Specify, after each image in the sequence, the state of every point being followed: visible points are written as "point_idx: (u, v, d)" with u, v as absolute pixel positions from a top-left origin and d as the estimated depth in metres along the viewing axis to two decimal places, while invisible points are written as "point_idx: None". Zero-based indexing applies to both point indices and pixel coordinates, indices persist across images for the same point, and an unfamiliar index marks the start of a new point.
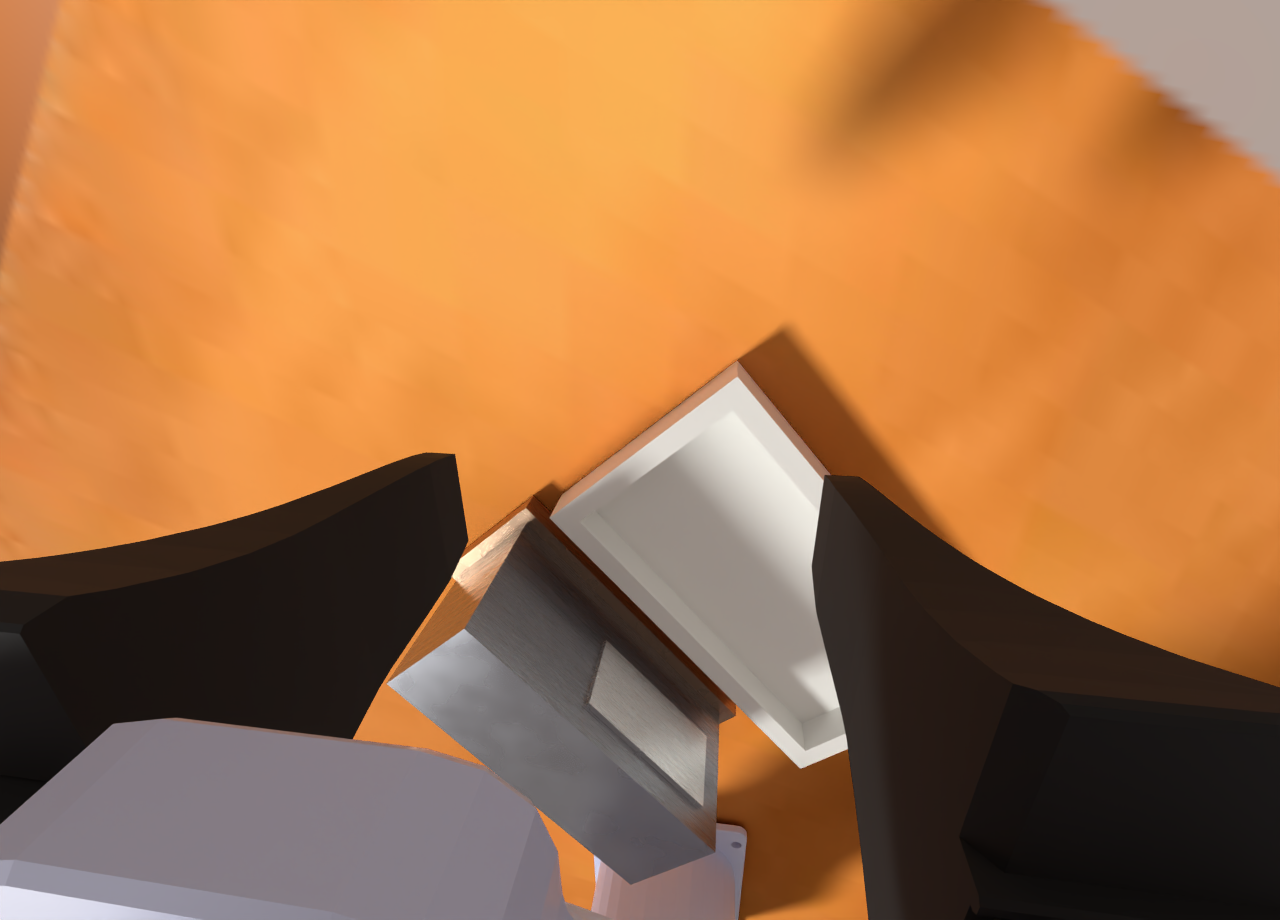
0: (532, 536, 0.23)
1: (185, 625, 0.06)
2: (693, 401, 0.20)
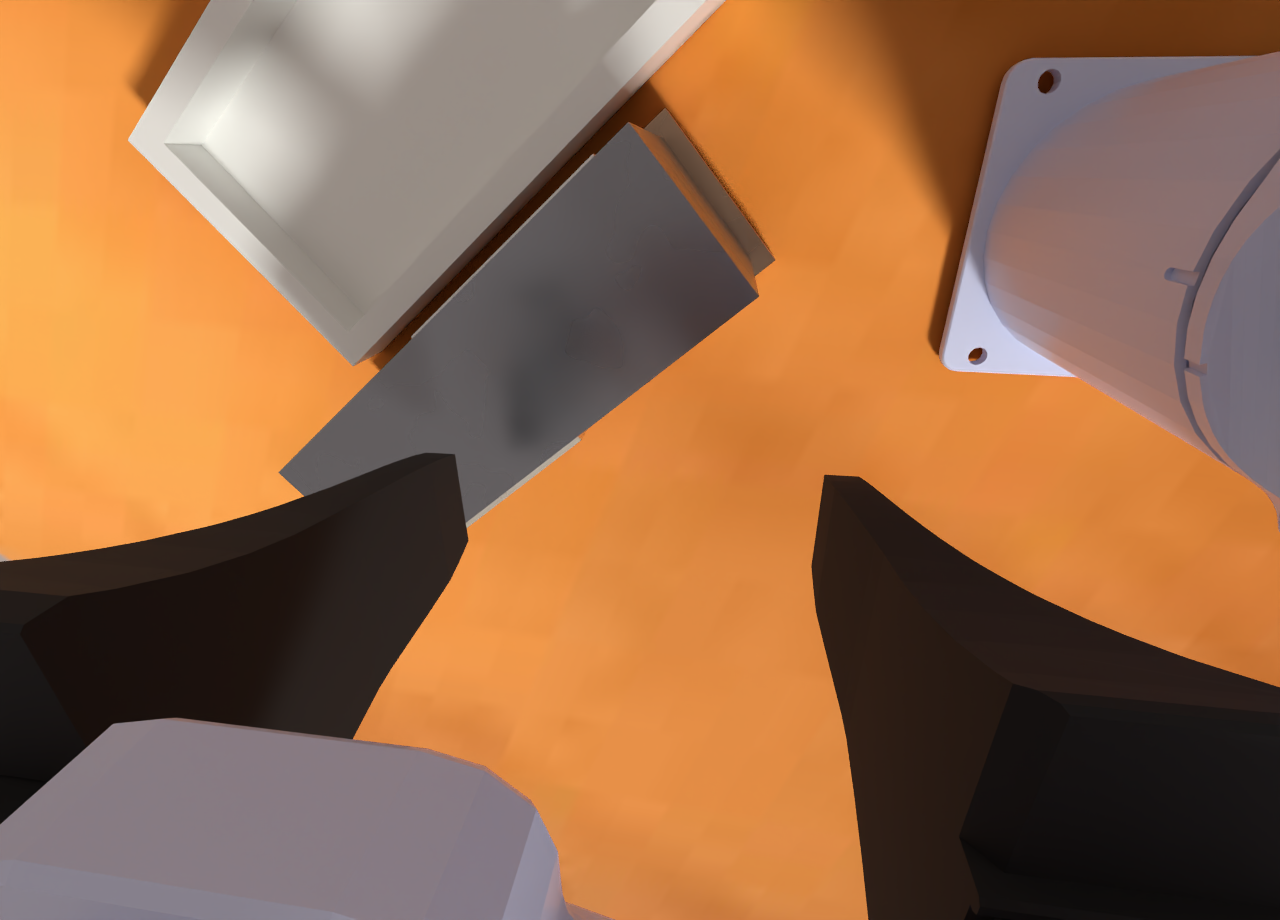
0: None
1: (185, 625, 0.06)
2: None
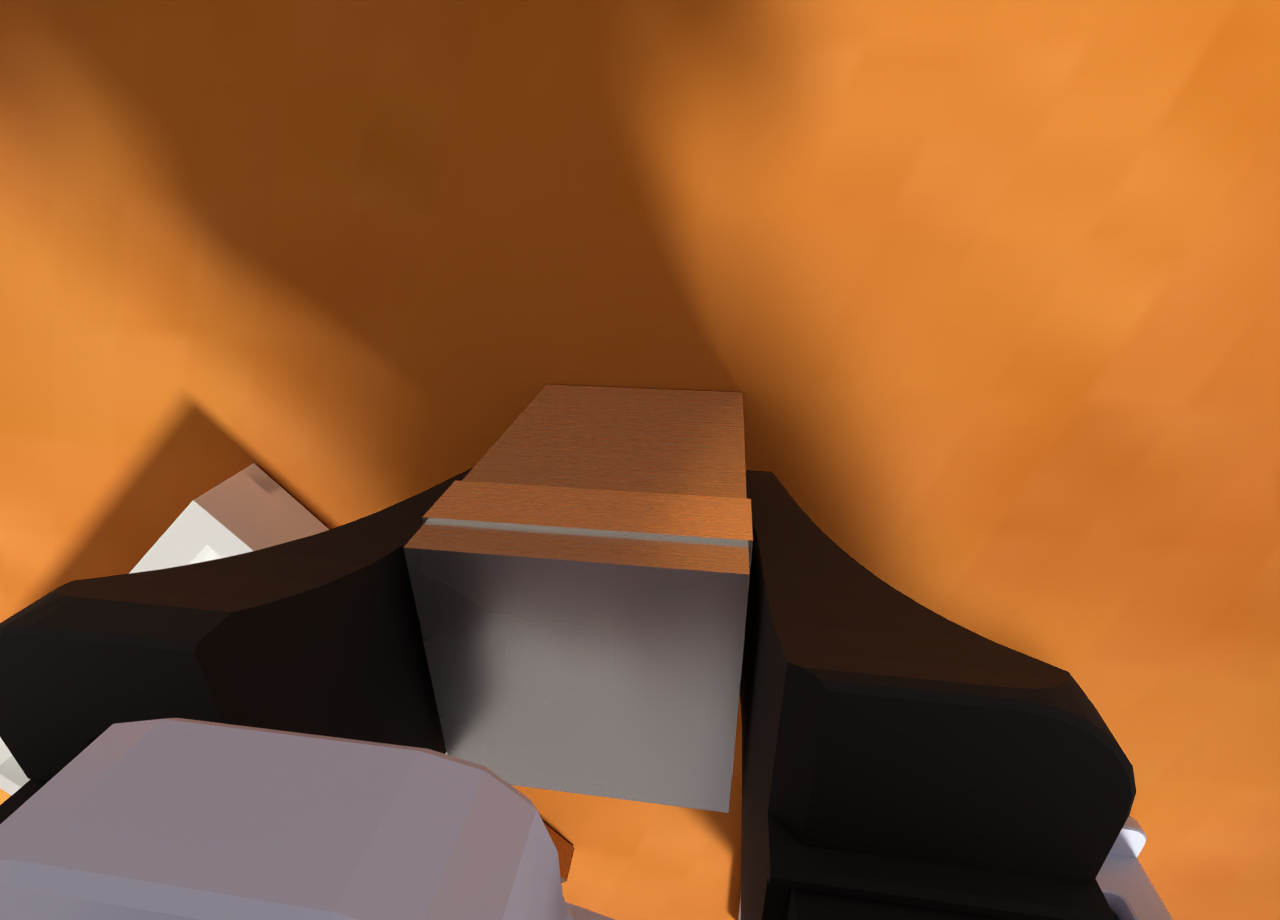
0: None
1: (322, 639, 0.06)
2: None
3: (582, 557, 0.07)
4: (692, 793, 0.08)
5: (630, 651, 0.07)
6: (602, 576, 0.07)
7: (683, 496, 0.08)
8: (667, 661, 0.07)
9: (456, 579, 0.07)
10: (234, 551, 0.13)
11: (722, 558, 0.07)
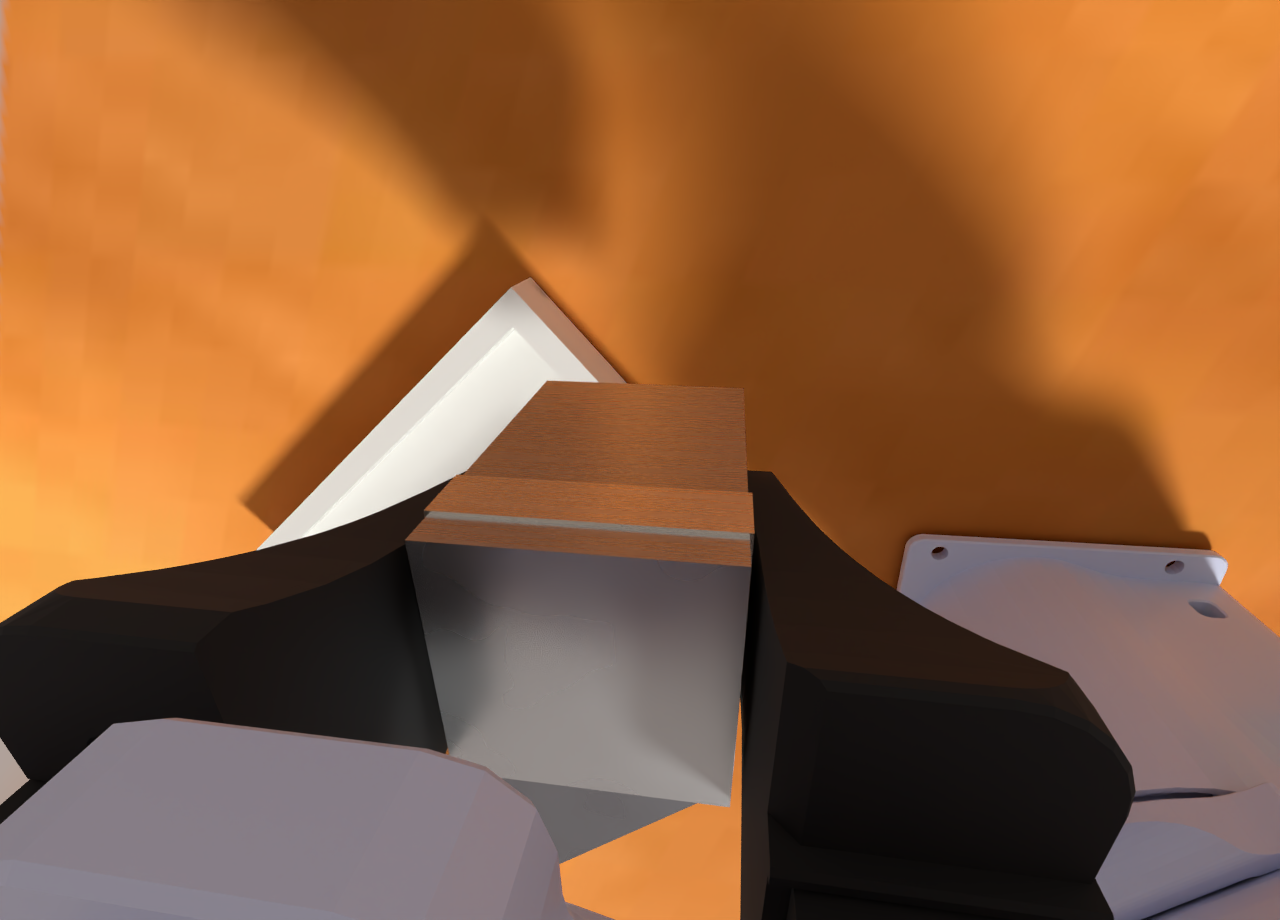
0: None
1: (322, 639, 0.06)
2: None
3: (585, 549, 0.07)
4: (693, 786, 0.08)
5: (632, 644, 0.07)
6: (603, 568, 0.07)
7: (685, 490, 0.08)
8: (669, 654, 0.07)
9: (458, 572, 0.07)
10: (534, 331, 0.17)
11: (724, 551, 0.07)
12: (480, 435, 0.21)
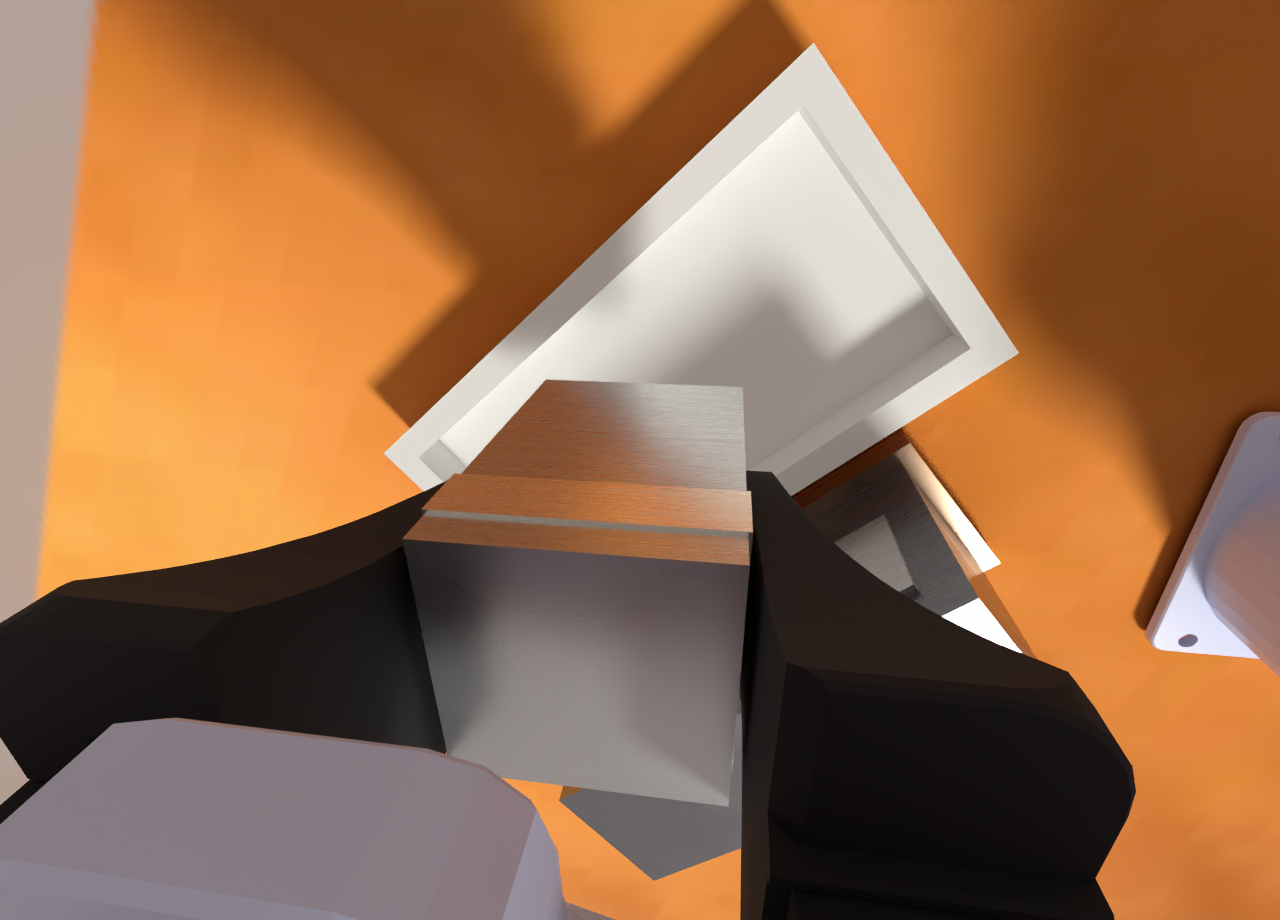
0: None
1: (322, 638, 0.06)
2: None
3: (582, 548, 0.07)
4: (692, 785, 0.08)
5: (630, 643, 0.07)
6: (602, 568, 0.07)
7: (683, 489, 0.08)
8: (667, 653, 0.07)
9: (455, 571, 0.07)
10: (831, 111, 0.13)
11: (722, 549, 0.07)
12: (702, 283, 0.16)
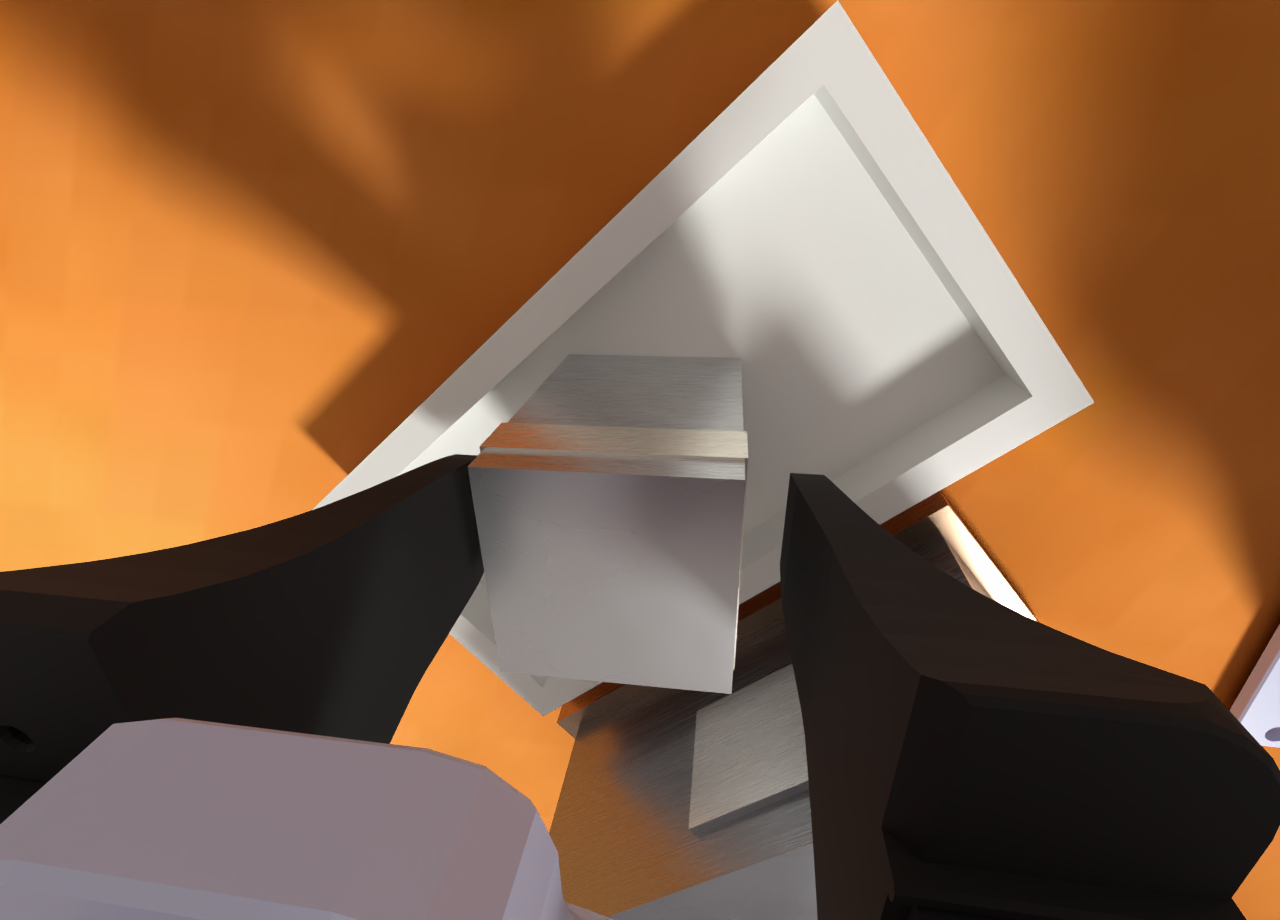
0: (587, 728, 0.18)
1: (239, 630, 0.06)
2: None
3: (612, 470, 0.09)
4: (701, 676, 0.10)
5: (650, 550, 0.09)
6: (628, 485, 0.09)
7: (692, 430, 0.10)
8: (680, 558, 0.09)
9: (510, 492, 0.09)
10: (860, 92, 0.10)
11: (723, 470, 0.09)
12: (693, 310, 0.13)
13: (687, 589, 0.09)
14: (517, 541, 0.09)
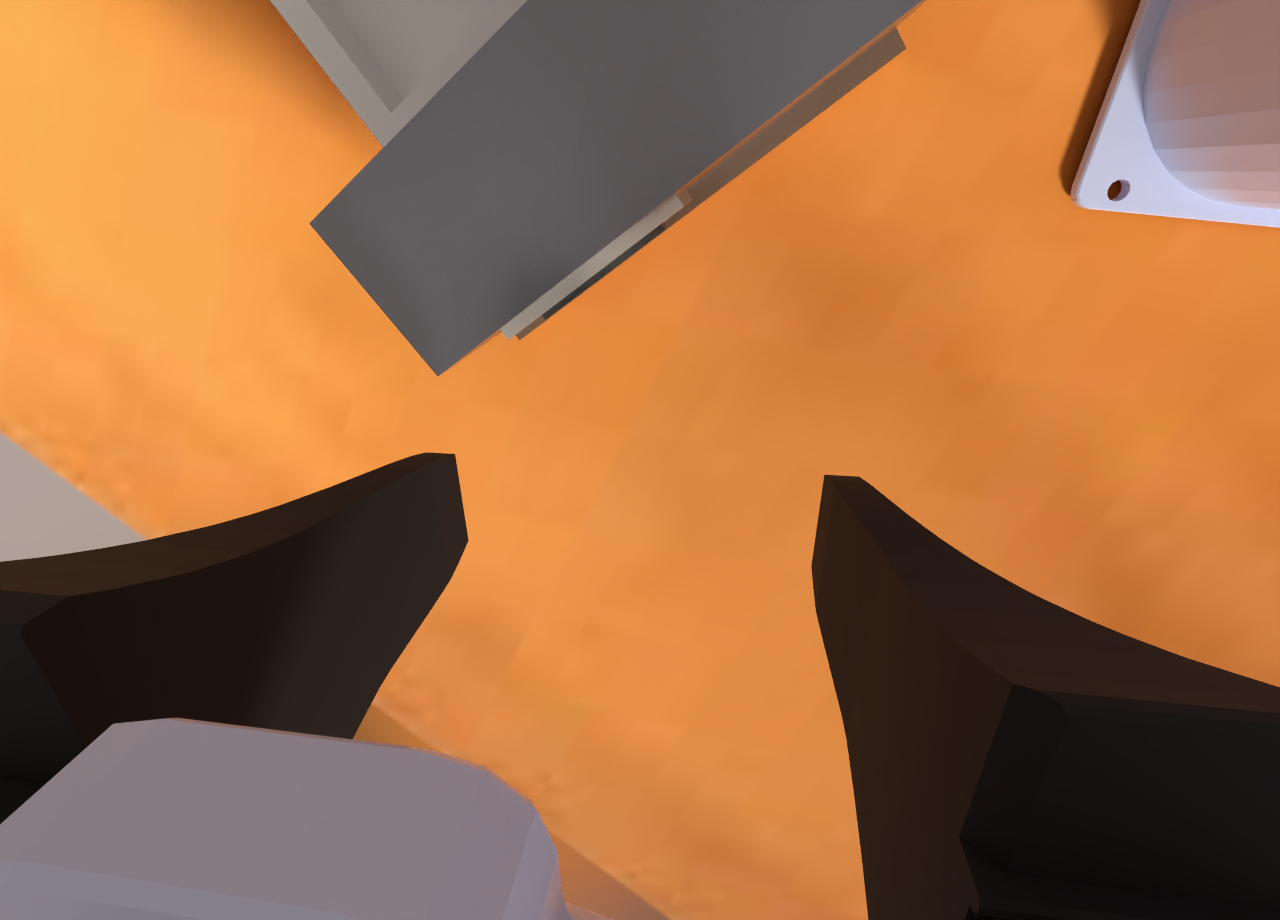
0: None
1: (185, 625, 0.06)
2: None
3: None
4: None
5: None
6: None
7: None
8: None
9: None
10: None
11: None
12: None
13: None
14: None
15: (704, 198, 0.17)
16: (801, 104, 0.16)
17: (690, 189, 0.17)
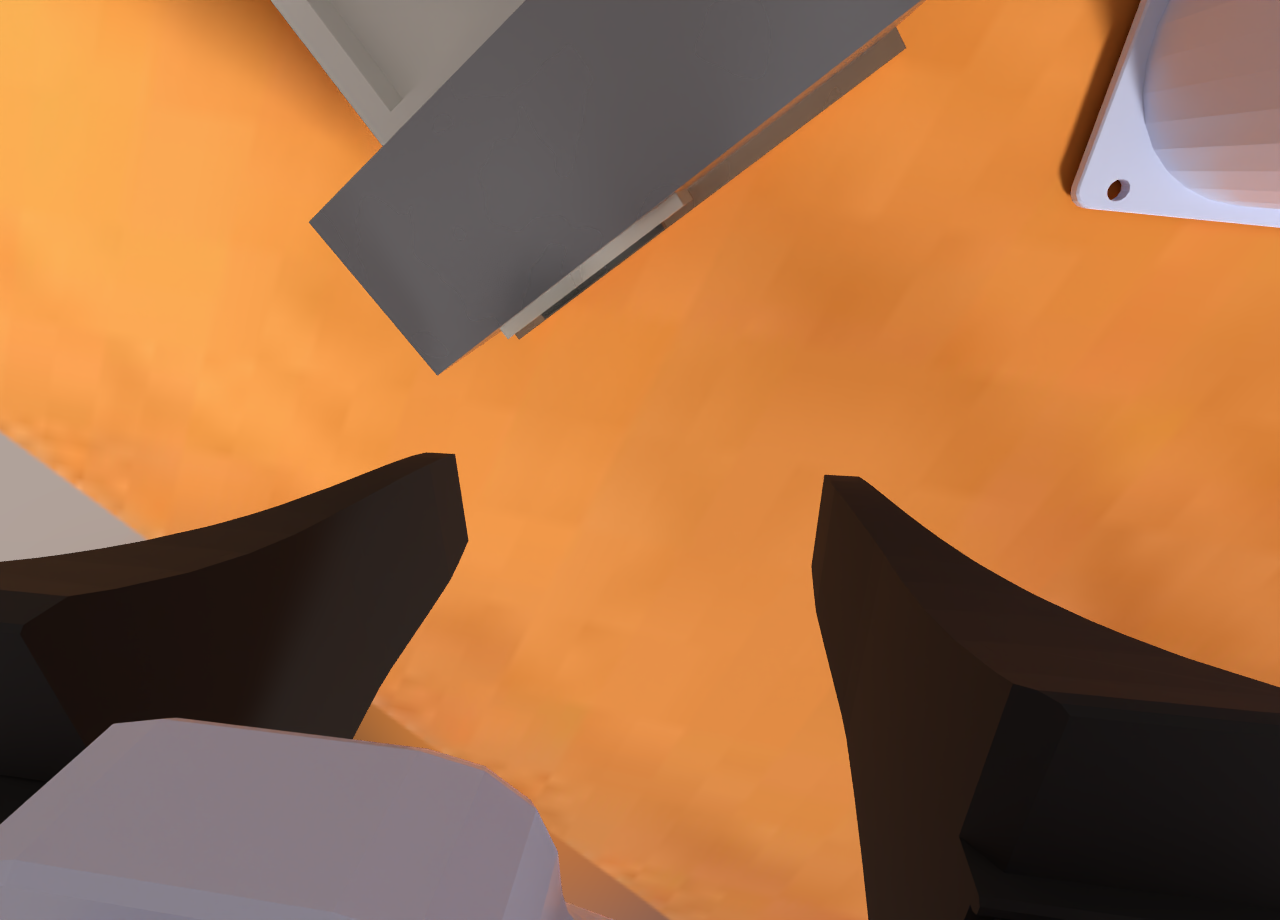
0: None
1: (185, 625, 0.06)
2: None
3: None
4: None
5: None
6: None
7: None
8: None
9: None
10: None
11: None
12: None
13: None
14: None
15: (704, 197, 0.17)
16: (801, 103, 0.16)
17: (690, 188, 0.17)
